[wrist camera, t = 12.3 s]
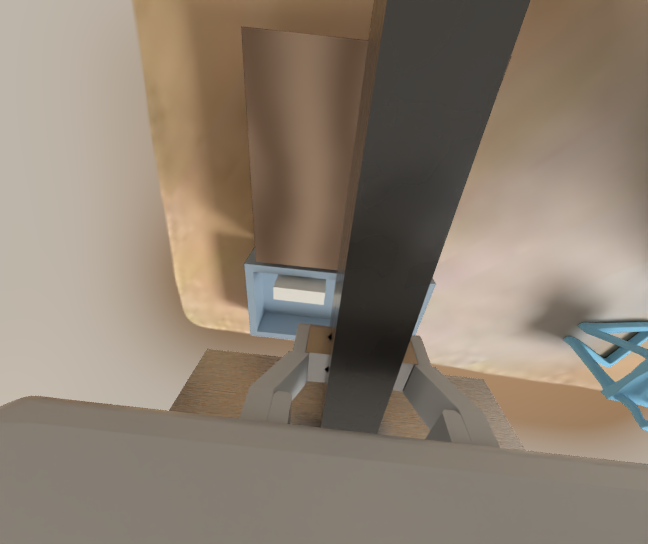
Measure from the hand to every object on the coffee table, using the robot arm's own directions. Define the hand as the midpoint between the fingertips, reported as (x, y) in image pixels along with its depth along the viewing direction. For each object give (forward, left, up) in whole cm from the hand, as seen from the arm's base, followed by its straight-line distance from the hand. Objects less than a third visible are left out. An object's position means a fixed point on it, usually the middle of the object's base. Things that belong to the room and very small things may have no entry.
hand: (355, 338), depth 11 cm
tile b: (+4, +6, -14) cm, 15 cm away
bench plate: (0, -4, -17) cm, 17 cm away
